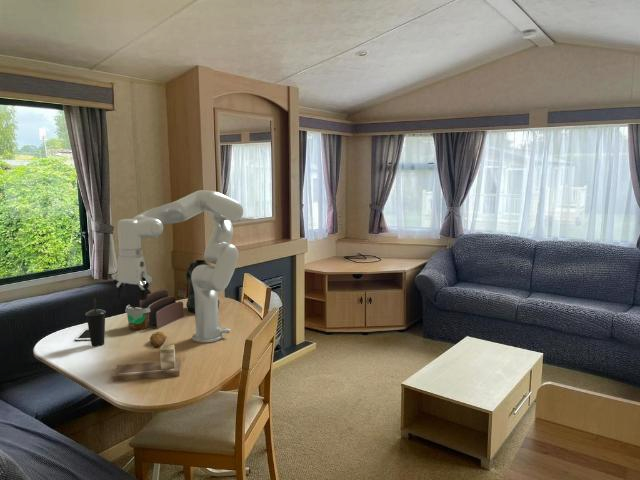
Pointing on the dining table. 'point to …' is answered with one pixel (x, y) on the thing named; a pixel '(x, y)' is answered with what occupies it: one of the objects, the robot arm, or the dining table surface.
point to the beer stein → (191, 298)
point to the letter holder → (162, 308)
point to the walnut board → (144, 371)
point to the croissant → (158, 339)
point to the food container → (138, 318)
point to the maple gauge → (167, 356)
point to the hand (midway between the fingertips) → (133, 298)
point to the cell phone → (83, 336)
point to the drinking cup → (96, 325)
